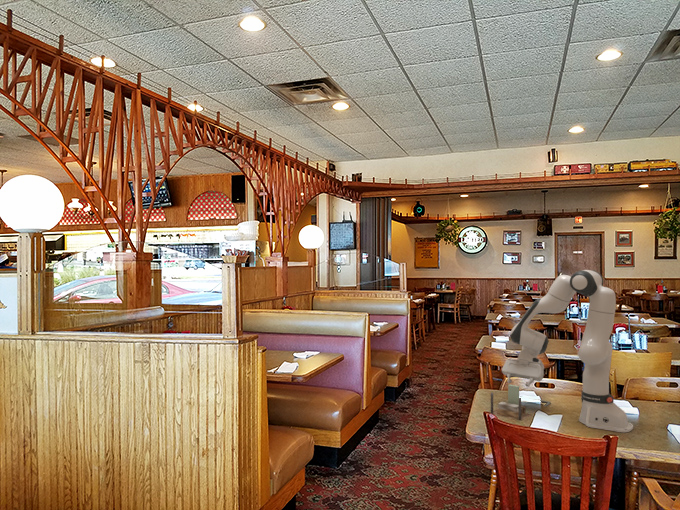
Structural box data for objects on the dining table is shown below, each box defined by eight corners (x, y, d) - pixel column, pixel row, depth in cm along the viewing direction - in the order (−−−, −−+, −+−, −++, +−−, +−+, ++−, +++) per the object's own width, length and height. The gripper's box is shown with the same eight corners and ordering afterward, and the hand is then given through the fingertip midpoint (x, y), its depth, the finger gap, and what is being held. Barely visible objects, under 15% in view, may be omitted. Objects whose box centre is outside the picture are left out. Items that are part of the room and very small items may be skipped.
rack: (531, 417, 250) (531, 393, 250) (521, 423, 241) (521, 399, 241) (500, 410, 261) (500, 387, 261) (489, 416, 252) (489, 392, 252)
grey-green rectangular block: (519, 412, 253) (519, 386, 253) (517, 413, 252) (518, 386, 251) (509, 410, 256) (509, 384, 256) (508, 411, 255) (508, 385, 255)
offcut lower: (520, 415, 248) (520, 410, 248) (516, 418, 245) (516, 412, 245) (501, 411, 255) (501, 406, 255) (496, 413, 251) (496, 408, 251)
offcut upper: (519, 410, 248) (519, 405, 248) (516, 412, 245) (516, 407, 245) (501, 406, 254) (501, 401, 254) (498, 408, 251) (498, 403, 251)
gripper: (505, 354, 270) (496, 376, 263) (544, 360, 256) (536, 384, 249) (508, 362, 274) (500, 383, 267) (547, 368, 260) (539, 391, 253)
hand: (517, 384), depth 258 cm, fingers open, 8 cm apart
